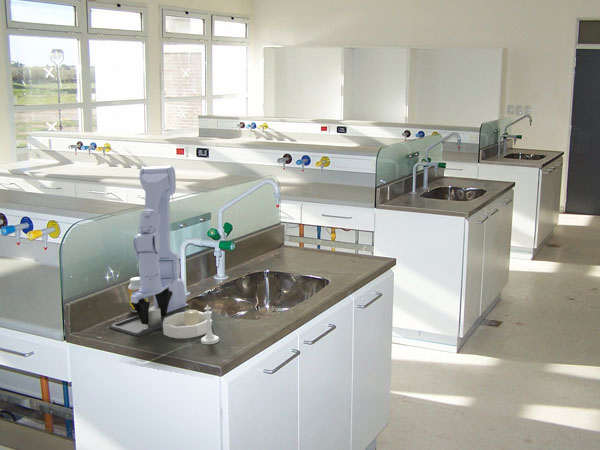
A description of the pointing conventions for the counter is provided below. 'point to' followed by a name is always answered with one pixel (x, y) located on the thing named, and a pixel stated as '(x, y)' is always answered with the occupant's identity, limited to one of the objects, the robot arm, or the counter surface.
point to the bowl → (183, 326)
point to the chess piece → (209, 329)
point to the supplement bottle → (134, 289)
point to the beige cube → (191, 317)
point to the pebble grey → (154, 316)
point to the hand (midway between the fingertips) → (154, 319)
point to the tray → (135, 326)
